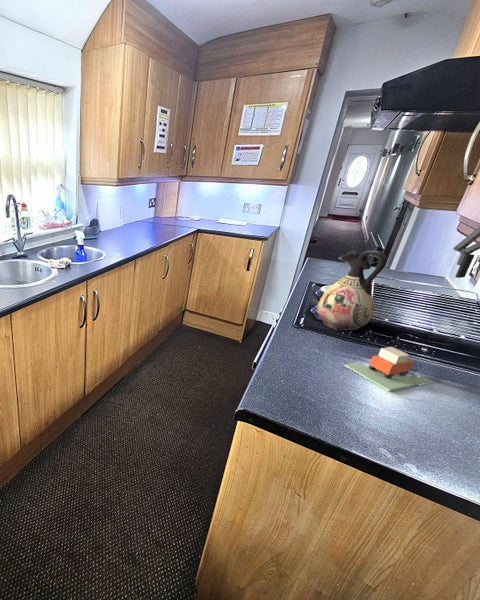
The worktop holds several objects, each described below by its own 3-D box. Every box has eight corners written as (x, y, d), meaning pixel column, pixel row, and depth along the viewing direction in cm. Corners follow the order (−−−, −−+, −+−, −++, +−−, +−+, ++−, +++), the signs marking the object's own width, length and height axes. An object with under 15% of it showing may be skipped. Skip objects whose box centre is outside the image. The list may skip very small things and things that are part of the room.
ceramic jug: (304, 325, 121) (328, 246, 109) (323, 315, 128) (348, 240, 116) (359, 345, 108) (394, 258, 96) (377, 332, 115) (411, 250, 103)
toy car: (386, 379, 89) (395, 357, 86) (367, 369, 93) (375, 348, 91) (407, 375, 91) (417, 354, 88) (387, 365, 95) (397, 345, 93)
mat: (384, 359, 100) (385, 357, 99) (432, 383, 89) (433, 381, 89) (343, 366, 96) (344, 364, 96) (388, 391, 85) (389, 389, 85)
